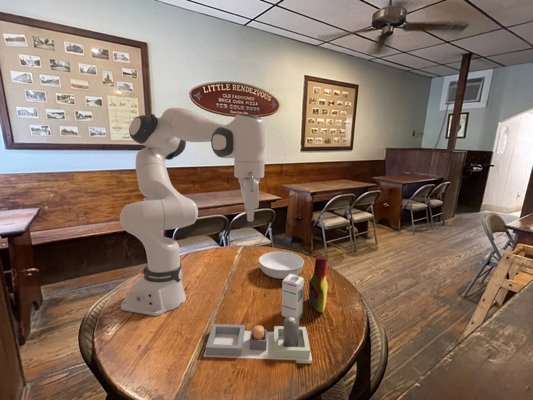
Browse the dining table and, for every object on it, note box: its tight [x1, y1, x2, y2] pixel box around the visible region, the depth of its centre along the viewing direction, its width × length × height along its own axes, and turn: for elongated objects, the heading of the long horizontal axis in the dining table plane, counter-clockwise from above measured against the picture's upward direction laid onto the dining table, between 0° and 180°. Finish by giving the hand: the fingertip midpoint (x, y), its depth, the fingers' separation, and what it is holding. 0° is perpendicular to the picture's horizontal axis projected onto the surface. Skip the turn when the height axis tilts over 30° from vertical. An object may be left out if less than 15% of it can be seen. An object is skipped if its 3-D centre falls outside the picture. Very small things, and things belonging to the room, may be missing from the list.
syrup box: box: [281, 274, 305, 321], centre depth 92 cm, size 6×6×14 cm
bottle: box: [308, 255, 329, 313], centre depth 98 cm, size 12×6×20 cm, turn 178°
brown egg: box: [253, 324, 265, 340], centre depth 78 cm, size 3×3×4 cm
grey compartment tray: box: [203, 323, 313, 365], centre depth 79 cm, size 30×11×4 cm, turn 89°
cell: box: [283, 316, 300, 347], centre depth 78 cm, size 4×4×9 cm
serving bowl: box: [258, 251, 305, 280], centre depth 124 cm, size 21×21×7 cm
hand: (248, 216), depth 82 cm, fingers open, 8 cm apart
